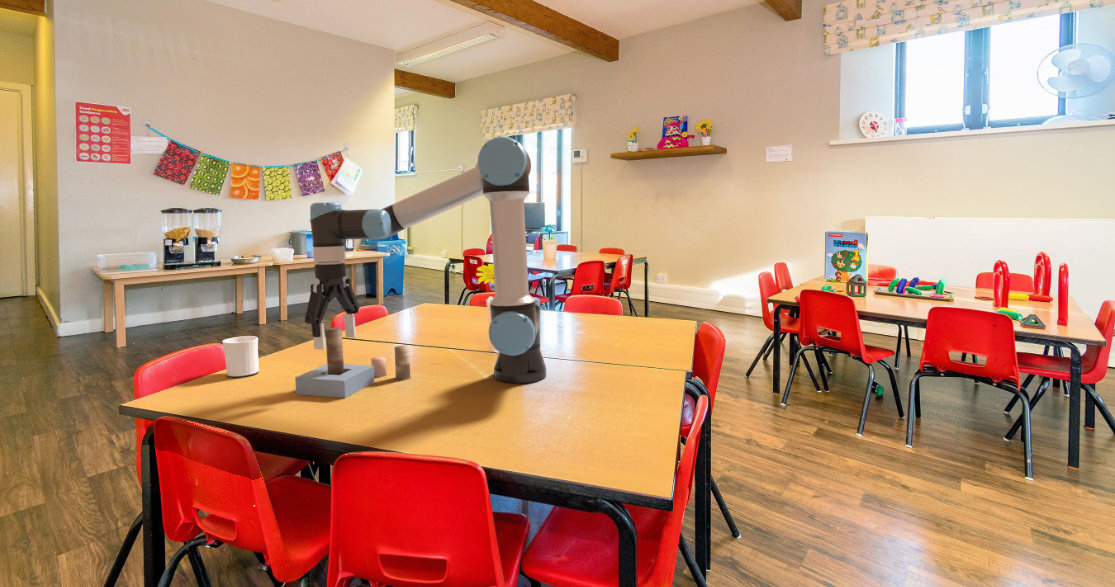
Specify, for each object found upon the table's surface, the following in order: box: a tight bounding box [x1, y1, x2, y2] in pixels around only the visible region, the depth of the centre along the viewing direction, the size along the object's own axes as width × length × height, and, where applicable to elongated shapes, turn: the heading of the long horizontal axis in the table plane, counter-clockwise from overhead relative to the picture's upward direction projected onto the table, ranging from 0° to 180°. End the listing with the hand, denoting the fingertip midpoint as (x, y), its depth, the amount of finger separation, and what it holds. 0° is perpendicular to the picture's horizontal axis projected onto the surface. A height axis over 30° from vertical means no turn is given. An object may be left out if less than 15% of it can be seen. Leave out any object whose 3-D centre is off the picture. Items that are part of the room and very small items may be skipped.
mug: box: [222, 335, 260, 379], centre depth 157 cm, size 11×9×10 cm
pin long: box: [324, 327, 345, 375], centre depth 144 cm, size 4×4×16 cm
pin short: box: [370, 356, 387, 378], centre depth 157 cm, size 4×4×5 cm
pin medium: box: [394, 345, 411, 381], centre depth 154 cm, size 4×4×9 cm
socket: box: [294, 363, 375, 399], centre depth 145 cm, size 14×14×4 cm
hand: (336, 343), depth 144 cm, fingers open, 13 cm apart
